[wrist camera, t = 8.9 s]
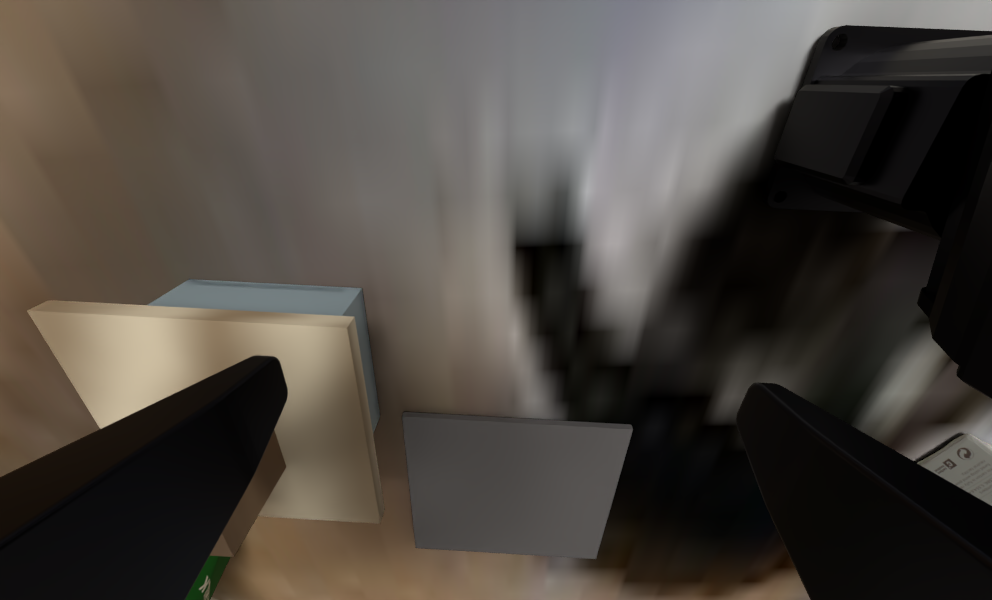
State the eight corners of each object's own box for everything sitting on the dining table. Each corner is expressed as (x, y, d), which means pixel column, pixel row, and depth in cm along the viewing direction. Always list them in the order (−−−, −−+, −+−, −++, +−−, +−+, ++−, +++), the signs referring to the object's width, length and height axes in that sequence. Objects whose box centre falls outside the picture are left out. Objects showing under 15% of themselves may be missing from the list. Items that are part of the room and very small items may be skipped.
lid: (354, 316, 15) (294, 405, 11) (384, 508, 21) (352, 615, 17) (48, 300, 15) (-124, 382, 11) (162, 495, 21) (76, 597, 17)
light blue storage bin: (362, 288, 20) (320, 344, 16) (380, 416, 25) (351, 488, 20) (189, 279, 21) (101, 333, 16) (237, 408, 25) (178, 478, 21)
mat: (631, 424, 24) (632, 429, 24) (594, 553, 31) (595, 558, 31) (403, 411, 24) (401, 416, 24) (416, 542, 31) (415, 547, 31)
